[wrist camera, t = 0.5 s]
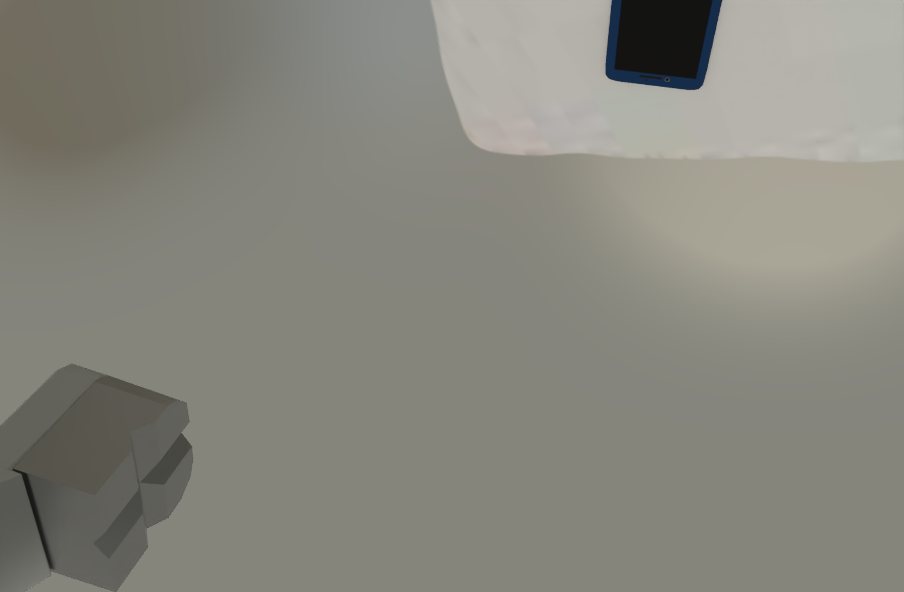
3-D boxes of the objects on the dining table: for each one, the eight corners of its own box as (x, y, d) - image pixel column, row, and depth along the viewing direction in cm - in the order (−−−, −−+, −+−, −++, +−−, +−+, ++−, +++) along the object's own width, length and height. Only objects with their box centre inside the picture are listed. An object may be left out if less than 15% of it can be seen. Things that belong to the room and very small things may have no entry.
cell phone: (741, -93, 52) (741, -87, 51) (702, 86, 63) (701, 93, 62) (622, -102, 53) (620, -96, 53) (605, 74, 64) (603, 81, 64)
